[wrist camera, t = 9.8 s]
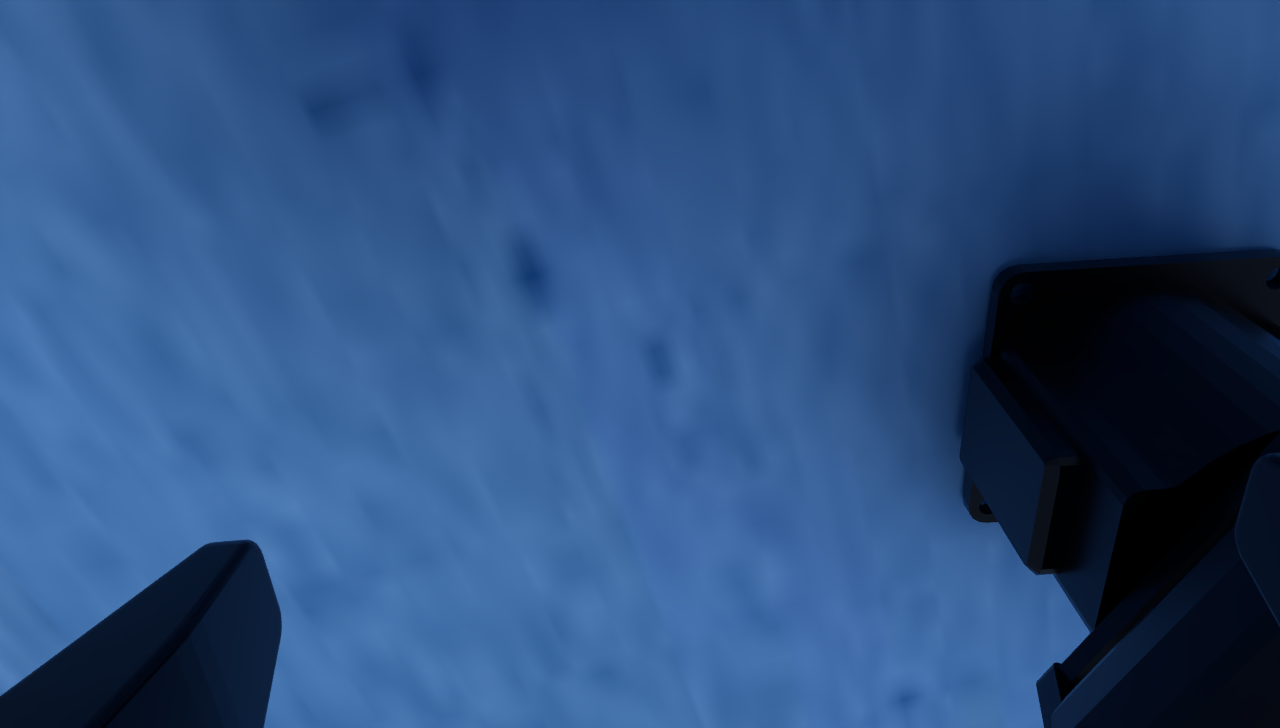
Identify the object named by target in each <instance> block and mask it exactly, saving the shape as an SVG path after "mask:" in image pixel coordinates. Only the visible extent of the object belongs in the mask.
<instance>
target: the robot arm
mask: <svg viewBox="0 0 1280 728" xmlns="http://www.w3.org/2000/svg"><path fill="white" fill-rule="evenodd" d="M1277 268H1279V270H1278V272H1277V274H1276V276H1275V277H1274V278H1272V279H1271V280H1270V281H1266V279H1267V277H1268V275H1269V273H1271V272H1272V271H1273V270H1274V269H1277ZM1021 283H1027V287H1026V289H1025V291H1024V292H1023V293H1022V294H1021V295H1020V296H1017V297H1010V294H1011V292H1012V289H1013V288H1014V287H1015V286H1017V285H1018V284H1021ZM960 460H961V462H962V464H963V465H964V467H965V469H966V470H967V472H966V480H965V487H964V494H963V501H964V505H965V507H966V508H967V510H968V512H969V513H970V515H971V516H972V518H973V519H975V520H977V521H979V522H986V523H989V522H999V524H1000V526H1001V527H1002V529H1003V531H1004V532H1005V534H1006V535H1007V537H1008V539H1009V540H1010V542H1011V544H1012V545H1013V547H1014V548H1015V550H1016V552H1017V553H1018V555H1019V557H1020V558H1021V560H1022V561H1023V563H1024V565H1025V566H1027V567H1028V568H1029V569H1030V570H1031V571H1032V572H1033V573H1035V574H1036V575H1044V574H1053V575H1054V577H1055V579H1056V580H1057V582H1058V583H1059V585H1060V586H1061V588H1062V589H1063V591H1064V592H1065V594H1066V596H1067V597H1068V599H1069V600H1070V602H1071V603H1072V605H1073V606H1074V608H1075V610H1076V611H1077V613H1078V614H1079V616H1080V617H1081V619H1082V620H1083V622H1084V624H1085V625H1086V627H1087V628H1088V630H1089V631H1090V634H1089V635H1088V636H1087V637H1086V639H1085V640H1084V641H1083V642H1082V643H1081V644H1080V645H1079V646H1078V647H1077V648H1076V649H1075V650H1074V651H1073V652H1072V653H1071V654H1070V656H1069V657H1068V658H1067V659H1066V660H1065V661H1064V662H1063V663H1062V664H1060V663H1054V664H1053V665H1052V666H1051V667H1050V668H1049V669H1048V670H1047V671H1046V672H1045V673H1044V674H1043V676H1042V677H1041V678H1040V679H1039V680H1038V681H1037V683H1036V686H1037V691H1038V697H1039V702H1040V707H1041V713H1042V718H1043V723H1044V728H1280V250H1273V249H1272V250H1256V251H1239V252H1223V253H1206V254H1189V255H1173V256H1156V257H1140V258H1123V259H1106V260H1090V261H1073V262H1057V263H1040V264H1024V265H1015V266H1011V267H1008V268H1007V269H1005V270H1004V271H1002V272H1001V273H1000V274H999V275H998V276H997V277H996V279H995V280H994V283H993V286H992V291H991V298H990V305H989V313H988V320H987V327H986V334H985V342H984V349H983V356H982V358H980V359H979V360H978V361H977V362H976V363H975V365H974V366H973V367H972V368H971V374H970V381H969V389H968V396H967V404H966V412H965V419H964V427H963V434H962V442H961V449H960ZM983 500H985V501H986V504H983V505H982V504H980V503H981V501H983ZM281 629H282V621H281V612H280V608H279V604H278V601H277V598H276V595H275V592H274V588H273V585H272V582H271V579H270V576H269V573H268V569H267V566H266V563H265V560H264V557H263V554H262V551H261V549H260V548H259V546H258V545H257V544H256V543H255V542H253V541H251V540H236V541H224V542H213V543H209V544H206V545H204V546H202V547H201V548H200V549H198V550H197V551H195V552H194V553H193V554H191V555H190V556H189V557H187V558H186V559H185V560H183V561H182V562H181V563H179V564H178V565H177V566H175V567H174V568H173V569H171V570H170V571H168V572H167V573H166V574H164V575H163V576H162V577H160V578H159V579H158V580H156V581H155V582H154V583H152V584H151V585H150V586H148V587H147V588H146V589H144V590H143V591H142V592H140V593H139V594H137V595H136V596H135V597H133V598H132V599H131V600H129V601H128V602H127V603H125V604H124V605H123V606H121V607H120V608H119V609H117V610H116V611H115V612H113V613H112V614H111V615H109V616H108V617H106V618H105V619H104V620H102V621H101V622H100V623H98V624H97V625H96V626H94V627H93V628H92V629H90V630H89V631H88V632H86V633H85V634H84V635H82V636H81V637H80V638H78V639H77V640H75V641H74V642H73V643H71V644H70V645H69V646H67V647H66V648H65V649H63V650H62V651H61V652H59V653H58V654H57V655H55V656H54V657H53V658H51V659H50V660H48V661H47V662H46V663H44V664H43V665H42V666H40V667H39V668H38V669H36V670H35V671H34V672H32V673H31V674H30V675H28V676H27V677H26V678H24V679H23V680H21V681H20V682H19V683H17V684H16V685H15V686H13V687H12V688H11V689H9V690H8V691H7V692H5V693H4V694H3V695H1V696H0V728H264V723H265V718H266V713H267V707H268V702H269V697H270V691H271V686H272V681H273V676H274V670H275V665H276V660H277V654H278V649H279V644H280V638H281Z"/></svg>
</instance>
